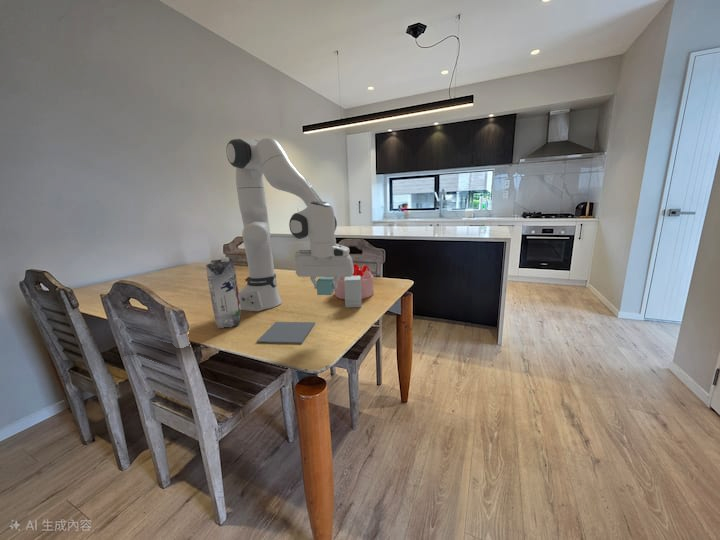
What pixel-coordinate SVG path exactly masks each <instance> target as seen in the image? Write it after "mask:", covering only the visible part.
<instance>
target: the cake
mask: <svg viewBox="0 0 720 540" xmlns="http://www.w3.org/2000/svg"><path fill="white" fill-rule="evenodd" d="M353 267H354V273H353V275H352V276H361V300H365V299H367V298H370V297H372V296H373V295H374V289H375V287H374V275H373V274H372V272H371V270H370V268H369V266H368V265H365V263H363V264H362V266H361V267H360V266H359V264H358V263H353ZM344 278H345V277H340V279H339V281H338V283H337V289H334V296H335V297H336V298H338V299H340V300H344V301H345V291H344ZM335 282H336V280H335V277H334V283H335Z"/></svg>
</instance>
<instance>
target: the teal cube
mask: <svg viewBox="0 0 720 540" xmlns="http://www.w3.org/2000/svg"><path fill="white" fill-rule="evenodd" d="M316 283H317V289H316V295H317V296H332V295H333V294H334V293H335V289H332V284H333V283H334V277H318V279H317V280H316Z"/></svg>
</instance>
